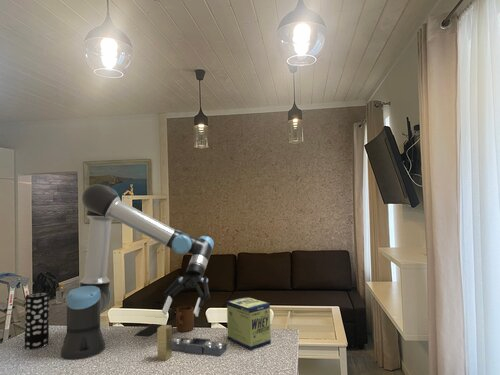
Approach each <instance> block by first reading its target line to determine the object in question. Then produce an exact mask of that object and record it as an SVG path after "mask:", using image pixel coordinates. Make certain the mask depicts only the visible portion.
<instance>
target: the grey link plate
mask: <svg viewBox="0 0 500 375" xmlns="http://www.w3.org/2000/svg"><path fill="white" fill-rule="evenodd" d="M172 339H173V340H172V351H175V352H184V353H185V354H194V355H201V356H202V355H208V356H209V355H211V356H218V357H221V356H223V354H224V353H225V352H226V351H227V350H228V346H227V342H222V341H214V340H213V341H212V340H211V338H203V337H193V338H185V337H184V338H183V337H174V338H172Z"/></svg>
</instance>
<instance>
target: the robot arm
mask: <svg viewBox="0 0 500 375" xmlns="http://www.w3.org/2000/svg"><path fill="white" fill-rule="evenodd" d="M82 192H83V193H82V194H81V201H82V204H83V206H84V207H85V209H86V217H87V219H89V226H88V227H89V230H88V237H87V238H88V239H87V247H86V248H87V250H86V257H85V258H86V261H85V270H84V277H83V278H82V279H81V280H80V281H79V282H80V283H79V287H77V288H76V287H75V288H73V289H71V290H70V291H69V292H68V293H67V297H66V334H65V337H64V341H63V345H62V346H61V350H60V357H61V358H63V359H65V360H66V359H67V360H80V359H85V358H91V357H94V356H96V355H98V354H101V353H102V352H103V351H104V350H105V348H106V342H105V341H106V340H105V339H104V337H103V333H102V330H101V312H102V311H103V310H104V309H105V308H106V307H107V306H108V305H109V303H110V301H111V297H112V293H111V292H112V291H111V289H110V284H111V280H110V279H109V278H108V276H107V275H108V266H109V265H108V264H109V252H110V242H111V232H112V221H113V220H116V221H117V222H119V223H121V224H122V225H124V226H127V227H129V228H130V229H133V230H135V231H137V232H138V233H141V234H143V235H144V236H146V237H148V238H150V239H151V240H154V241H156V242H158V243H160V244H161V245H163V246H165V247H167V248H169V249H170V250H173V251H174V253H177V254H179V255H183V254H184V255H185V254H186V253H187V254H188V255H189V254H190V255H191V258H190V259H189V263H188V265H187V268H186V271H185V274H184V276H180V275H177V276H176V277H175V280H174V281H173V282H172V283H171V284H170V285H169V286H168V287H167V288H166V290H164V292H163V293H162V294H163V296H164V297H165V299H164V301H163V306H162V307H163V308H162V310H161V311H162V313H163V314H164V315H167V314H168V311H169V310H170V306H171V304H172V302H173V298H174V297H175V296H177V294H179V293H180V292H181V291H182V290H185V289H194V288H196V291H197V292H198V294H199V297H198V298H197V301H196V304H195V307H194V309H193V310H194V312H193V313H194V317H196V318H197V317H199V314H200V310H201V309H202V308H203V307H204V304H205V302H206V301H210V300H211V295H210V290H209V288H210V287H209V278H208V277H207V276H204V274H205V271H206V269H207V265H208V264H209V263H208V262H209V261H210V257H211V255H212V253H213V248H214V244H215V241H214V240H213V239H212V238H211V236H208V235H207V236H206V235H202V236H199V238H197V237H195V236H193V235H190V234H188V233H185V232H183V231H181V230H178V229H175V228H173V227H172V226H169V225H167V224H165V223H163V222H161V221H160V220H158V219H156V218H155V217H152V216H151V215H149V214H146V213H145V212H143V211H141V210H139V209H137V208H135V207H133V206H131V205H130V204H128V203H127V202H124V201H122V200H121V198H120V196H119V194H118V193H117V191H116V190H115V189H114V188H112V187H110V186H107V185H104V184H100V183H95V184H92V185H89V186H87V187H86V188H85V189H84V191H82ZM201 283H202V284H203V289H204V293H203V291H202V289H201V286H200V284H201Z"/></svg>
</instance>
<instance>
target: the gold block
mask: <svg viewBox="0 0 500 375" xmlns="http://www.w3.org/2000/svg"><path fill="white" fill-rule="evenodd" d="M161 325H162V326H160V327H158V328H157V360H158V361H165V362H167V361H168V360H170V359H171V358H172V357H173V350H172V341H173V340H172V339H173V337H172V335H173V333H172V332H173V330H172V329H173V328H172V327H173V326H172V325H171V324H169V325H168V324H161Z"/></svg>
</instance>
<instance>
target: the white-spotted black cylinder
mask: <svg viewBox="0 0 500 375" xmlns="http://www.w3.org/2000/svg"><path fill="white" fill-rule="evenodd" d="M24 303H25V304H24V306H25V309H24V310H25V311H24V344H23V345H24V349H26V350H35V349H34V348H36V349H40V348H39V347H41V348H43V347H42V346H44V345H46V344H47V345H49V343H48V342H49V339H50V338H49V336H50V333H49V332H50V331H49V330H50V292H37V293H36V292H35V293H29V294H27V295H25V302H24ZM47 345H46V346H47ZM44 347H45V346H44Z"/></svg>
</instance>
